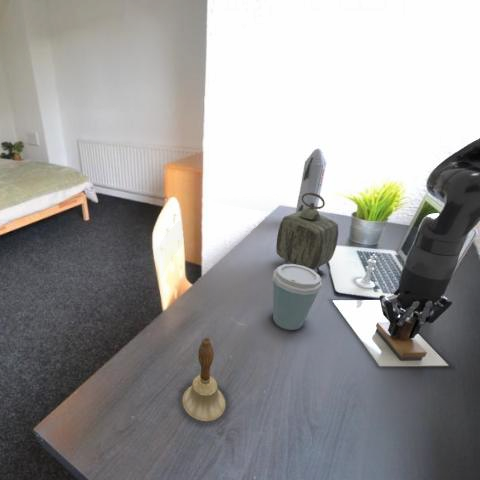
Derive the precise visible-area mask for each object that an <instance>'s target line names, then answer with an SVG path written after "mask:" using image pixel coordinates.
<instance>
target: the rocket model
mask: <svg viewBox="0 0 480 480" xmlns="http://www.w3.org/2000/svg"><path fill="white" fill-rule="evenodd" d="M326 168H327V162H326V158H325V155H324V153H323V151H322V149H320V148H315V149H313V151H312V152H311V154H310V155H309V156H308V158H306V160H305V161H304V166H303V171H302V176H301V182H300V188H299V193H298V198H297V204H296V210H295V213H296V212H298V211H303V210H304V209H306V208H310V207H308V206H306V205H305V204H304V203H303V202H302V196H303V195H304V194H305V193H315V194H318V195H320V196H321V192H322V188H323V181H324V177H325V172H326ZM303 200H304V201H305V202H306V203H307V204H309V205H310V203H314V206H316V207H319V202H320V198H318V197H316V196H313V195H306V196H304V198H303ZM316 210H317V211H318V209H316Z"/></svg>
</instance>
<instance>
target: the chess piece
mask: <svg viewBox="0 0 480 480" xmlns="http://www.w3.org/2000/svg"><path fill="white" fill-rule="evenodd" d="M375 259H378V257H377V256H376V254H375V253H373V254H372V255H371V256H369V259H368V260H367V264H368V265H366V266H365V269H366V272H365V274H364V275H363V277H362V278H357V279H356V280H355V283H356V284H357V285H358V286H359V287H361V288H365V289H375V287H376V284H375V283H374V281H373V280H371V277H372V276H371V275H372V272H373V271H375V268H374V266H375V265H376V264H377V260H375Z"/></svg>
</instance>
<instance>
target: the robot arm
mask: <svg viewBox="0 0 480 480" xmlns="http://www.w3.org/2000/svg"><path fill="white" fill-rule="evenodd" d="M425 187H426V191H427V193H428V194H429V195H430V196H431V197H433V198H435V199H437V200H439V201H440V202H441V203H444V205H443V207H442V209H441V211H440V212H437V213H430V214H427V215H425V216H424V217H423V218H422V220H421V222H420V223H419V226H418V229H417V232H416V235H415V237H414V239H413V242H412V245H411V246H410V248H409V250H408V252H407V254H406V258H405V261H404V263H403V266H402V268H401V272H400V274H399V277H398V288H396V290H395V291H394V292H393V294H392V295H389V296H386V295H384V294H382V295H380V296H379V297H378V300H380V304H381V308H382V312H383V315H384V317H385V318H386V319H387V320H388V321H389V322H390V325H389V328H388V332H389V333H390V334H391V336H392V337H393V338H399V335H400V333H401V330H402V328H403V324H404V322H405V320H406V319H407V318H410V316H412V317H413V318H415V320H416V322H415V324H414V327H413V329H412V332H411V334H410V336H409V338H415V336H416V335H417V334H419V332H420V330H421V327H422V326H424V325H425V324H426V323H429V324H433V323H434V322H435V321H436V320H437V319H439V317H441V315H443V314H444V313H445V312H446V311H447V310H448V309H449V308H450V307H451V306H452V305H453V302H452V300H450V299H449V298H448V297H446V295H445V293H446V291H447V288H448V286H449V284H450V282H451V280H452V277H453V275H454V273H455V270H456V268H457V265H458V263H459V259H460V255H461V253H462V250H463V248H464V246H465V243H466V241H467V238H468V235H469V234H470V232H471V231H472V230H473V229H475V227H476V226H477V225H478V224H479V223H480V136H479V137H478V138H477V137H476V139H474V140H473V141H471V142H468V143H467V144H466V145H464V146H463V147H461V148H459V149H458V150H457V151H455V152H453V153H452V154H450V155H449V156H447V157H446V158H444V159H443V160H442V161H441V162H439V163H438V164H436V166H435V167H434V168H433V169H432V170H431V171H430V172H429V175H428V177H427V179H426V183H425ZM393 308H394V309H393ZM431 312H432V314H430V313H431ZM399 314H400V317H398V316H399Z"/></svg>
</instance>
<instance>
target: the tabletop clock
mask: <svg viewBox="0 0 480 480" xmlns="http://www.w3.org/2000/svg"><path fill="white" fill-rule="evenodd" d="M306 195H313V196H316V197H318V198H319V200H320V201H321V202H322V205H320V206H318V207H316V206H314V203H310V205H309V204H307V203H306V202H305V201H304V200H303V198H304V196H306ZM302 202H303V203H304V204H305V205H306V206H308V207H310V208H306V209H304V210H303V211H298V212H296V211H295V212H293V213H291V214H287V215H284V216H283V218H282V219H281V221H280V225H279V227H278V231H277V236H276V245H275V246H276V247H275V248H276V255H278V256H279V257H280V258H281V259H283V260H285V261H287V262H288V263H289V264H296V265H301V266H305V267H307V268H310V269H312V270H314V271H315V270H317V272H316V273H317V274H318V275H319V276H323V275H324V271H323V270H321V269H320V267H322V266H324V265H326V264H328V263H329V262H330V261H331V260H332V258H333V256H334V254H335V252H336V248H337V246H338V245H337V244H338V241H339V240H338V238H339V224H338V223H337V222H336V221H335V220H333V219H332V218H329V217H327V216H324V215H322V214H320V212H319V210H321V209H322V208H324V207H325V205H326V202H325V200H324V198H323V197H322V196H321V194H320V195H318V194H315V193H305V194H304V195H303V196H302ZM316 209H317V210H316Z"/></svg>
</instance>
